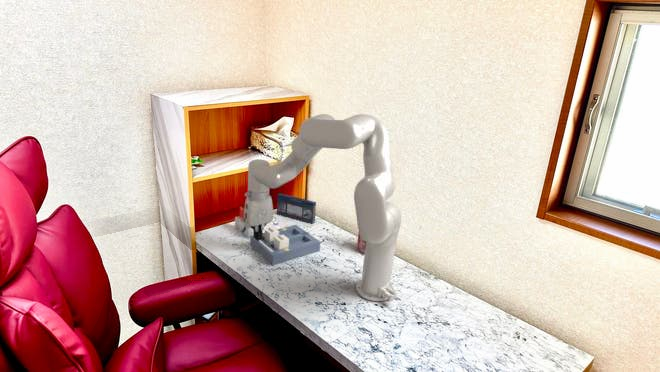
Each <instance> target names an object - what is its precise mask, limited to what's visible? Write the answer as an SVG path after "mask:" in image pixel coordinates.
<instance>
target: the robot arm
mask: <svg viewBox="0 0 660 372" xmlns="http://www.w3.org/2000/svg"><path fill="white" fill-rule="evenodd" d="M390 142H391V141H390V136H389V133H388V131H387V129H386V127H385V125H384V124H383V123H382V122H381V120H379V119H378V118H377V117H375V116H373V115H370V114H365V113H364V114H363V113H361V114H360V113H359V114H355V115H352V116H350V117H347V118H345V119H336V118H334V117H333V116H332V115H330V114H328V113H320V114H318V115H313V116H311V117H308V118H307V119H305V120H304V121H303V122H302V123H301V124H300V126H299V130H298V135H297V136H296V137H295V138H294V139H293V140H292V141H291V143H290V147H291V152H290V153H289V154H288V155H287V156H286V157H285V158H284V159H283V160H282V161H279V162H277V163H275V164H272V165H271V164H270V162H269V161H268V160H265V159H259V158H258V159H252V160H250V161H249V162H248V167H247V169H248V173H247V178H248V179H247V181H248V182H247V192H245V193H244V196H245V197H246V199H245V203H244V221H245V225H244V226H245V227H246V228H252V229H253V237H254V238H255V239H256V240H257V241H259V240H262V233H264V232H263V231H265V227H266V226H267V225H268V224H270V223H271V222H272V221H273V219H274V207H273V206H274V205H273V199H272V196H271V195H270V189H276V188H277V189H278V188H279V187H281V186H283V185H285V184H286V183H289V182H290V181H292V180H294V179H295V178H297V176H299V174H301V172H302V171H303V170H305V169H306V167H307V166H308V165H309V164H310V162H311V160H312V159H313V158H314V157H315V156H316V155H317V154H318V153H319V152H320V151H321V150H322V149H323V148H324V149H336V150H337V149H338V150H348V149H353V148H355V147H358V146H359V145H361V144H362V145H363V154H362V158H363V159H362V160H363V167H364V168H363V169H364V177H363V178H362V179H360V180H359V181H358V182H357V184H356V185H355V187H354V188H355V189H354V193H353V201H354V207H355V209H354V210H355V216H356V223H357V229H358V233H359V232H360V235H361V236H362V238H363V239H364V240H365V241H366V247H365V254H363V255H364V258H363V266H362V272H361V273H362V274H361V279H359V280H358V281H357V283H356V284H355V285H356V286H355V291H356V293H357V294H358V295H359V296H360V297H361V298H363V299H366V300H368V301H372V302H384V301H388V300H389V301H390V302H393V301H394V300H395V297H396V296H397V294H398V293H397V291H395V290H394V286H393V283H392V282H391V279H392V273H393V272H392V271H393V265H394V260H395V259H394V258H395V253H396V246H397V240H398V237H399V232H400V229H401V228H400V227H401V222H402V214H401V210H400V209H399V207H398V206H397V204H395V203H393V202H391V201H388V200H389V198H391V196H393V194H394V192H395V188H396V187H395V186H396V185H395V178H394V169H393V160H392V154H391V143H390Z"/></svg>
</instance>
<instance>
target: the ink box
mask: <svg viewBox="0 0 660 372" xmlns="http://www.w3.org/2000/svg"><path fill="white" fill-rule="evenodd" d="M244 209H245V207H243V206H241V205H240V206H239V216H234V217H235V218H234V229H236V230H237V231H238V232H240V234H242V235H243V236H245V237H246V239H250V236H253V229H252V228H246V227H245V226H244V225H245V221H244Z"/></svg>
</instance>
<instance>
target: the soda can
mask: <svg viewBox="0 0 660 372" xmlns="http://www.w3.org/2000/svg"><path fill="white" fill-rule="evenodd" d="M356 245H357V246H356V247H357V248H356V249H357V251H359V252H360V253H362V254H363V255H365V247H366V241H365V240H364V239H363V238H362V236H361V235H360V232H359V231H358V236H357V244H356Z"/></svg>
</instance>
